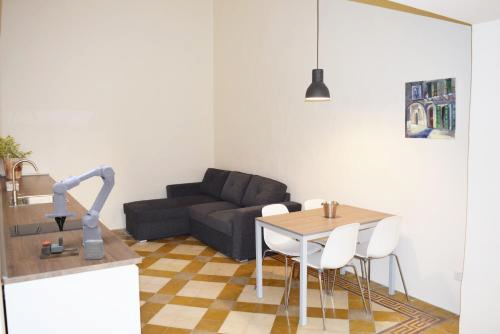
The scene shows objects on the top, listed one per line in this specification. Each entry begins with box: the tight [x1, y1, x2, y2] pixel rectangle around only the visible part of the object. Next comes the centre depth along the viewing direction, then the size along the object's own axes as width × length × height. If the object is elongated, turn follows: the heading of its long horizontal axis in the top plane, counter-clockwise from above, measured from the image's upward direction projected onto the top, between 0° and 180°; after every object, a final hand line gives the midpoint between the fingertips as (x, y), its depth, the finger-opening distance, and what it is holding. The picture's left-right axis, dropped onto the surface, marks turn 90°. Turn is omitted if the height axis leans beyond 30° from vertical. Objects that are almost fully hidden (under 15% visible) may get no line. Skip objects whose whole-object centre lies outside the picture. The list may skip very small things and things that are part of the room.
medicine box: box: [83, 239, 105, 260], centre depth 198 cm, size 8×4×9 cm, turn 92°
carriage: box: [51, 236, 64, 252], centre depth 203 cm, size 5×7×6 cm
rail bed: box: [39, 241, 80, 260], centre depth 204 cm, size 17×10×5 cm, turn 111°
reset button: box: [41, 240, 51, 246], centre depth 201 cm, size 4×4×1 cm
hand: (61, 230), depth 214 cm, fingers closed
